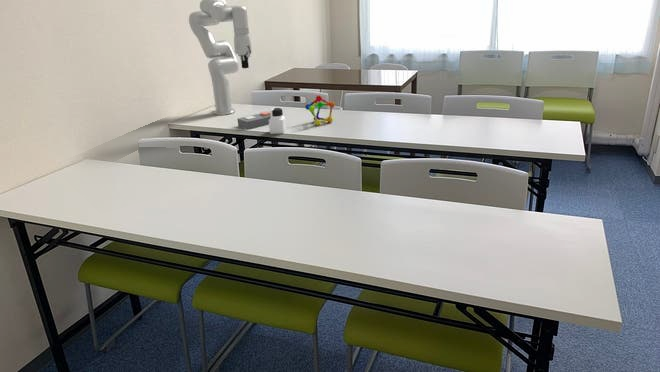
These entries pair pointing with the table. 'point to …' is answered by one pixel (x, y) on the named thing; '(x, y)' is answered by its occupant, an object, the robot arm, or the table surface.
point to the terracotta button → (265, 113)
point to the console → (254, 121)
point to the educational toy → (320, 104)
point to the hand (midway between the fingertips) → (245, 67)
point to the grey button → (250, 117)
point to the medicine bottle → (277, 121)
